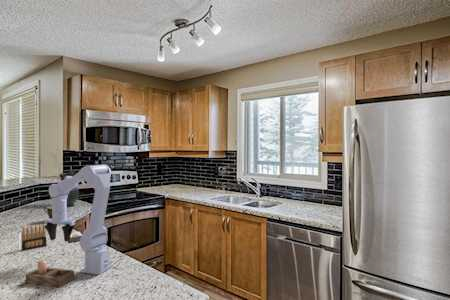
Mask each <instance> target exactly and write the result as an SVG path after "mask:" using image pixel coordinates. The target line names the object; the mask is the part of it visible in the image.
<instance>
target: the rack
mask: <svg viewBox="0 0 450 300" xmlns="http://www.w3.org/2000/svg"><path fill="white" fill-rule="evenodd" d="M75 279H76V275H75V270H72V269H64V268H54V267H48V266H47V273H45V274H43V275H38V268H37V269H35V270H32V271H30V272H28V273H26V274H25V279H24V283H26V284H32V285H33V284H34V285H40V286H47V287H52V288H61V287H63V286H64V285H66V284H68V283H70V282H71V281H73V280H75Z"/></svg>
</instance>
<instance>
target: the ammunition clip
mask: <svg viewBox="0 0 450 300" xmlns="http://www.w3.org/2000/svg"><path fill="white" fill-rule="evenodd" d="M45 225H46V224H45V222H43V224H41V223H39V224H38V225H37V224H35V225H34V226H33V224H31V226H30V227H29V225H27V226H26V228H25V226H22V229H21V230H22V231H21V251H22V252H24V251H29V250H34V249H35V250H36V249H38V248H43V247H44V248H45V247H47V230H46V228H45Z"/></svg>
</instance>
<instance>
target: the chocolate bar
mask: <svg viewBox="0 0 450 300" xmlns="http://www.w3.org/2000/svg"><path fill="white" fill-rule="evenodd" d="M82 235H83V230H82V231H76V232H72V233H71V236H70V240H69V241H68V243H69V244H73V243H79V242H80V238H81V237H82ZM78 241H79V242H78ZM72 242H73V243H72Z"/></svg>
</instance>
